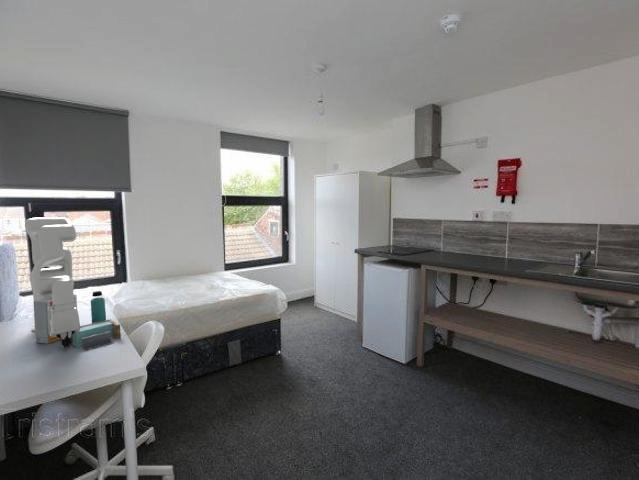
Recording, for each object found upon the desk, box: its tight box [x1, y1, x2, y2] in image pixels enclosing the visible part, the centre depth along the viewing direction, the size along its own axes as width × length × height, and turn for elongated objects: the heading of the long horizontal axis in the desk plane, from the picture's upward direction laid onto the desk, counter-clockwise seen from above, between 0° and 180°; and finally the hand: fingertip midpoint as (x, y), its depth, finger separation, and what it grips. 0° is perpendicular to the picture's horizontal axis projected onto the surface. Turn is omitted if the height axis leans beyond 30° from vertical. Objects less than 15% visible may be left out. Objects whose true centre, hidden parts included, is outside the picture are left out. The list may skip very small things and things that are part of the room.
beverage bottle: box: [89, 290, 107, 324], centre depth 169 cm, size 6×7×20 cm
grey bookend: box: [82, 331, 115, 352], centre depth 149 cm, size 5×11×4 cm, turn 141°
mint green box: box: [72, 321, 114, 347], centre depth 155 cm, size 6×15×7 cm, turn 143°
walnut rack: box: [70, 319, 122, 345], centre depth 154 cm, size 12×18×7 cm
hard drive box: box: [33, 294, 78, 345], centre depth 158 cm, size 16×8×20 cm, turn 168°
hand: (66, 346), depth 145 cm, fingers closed
